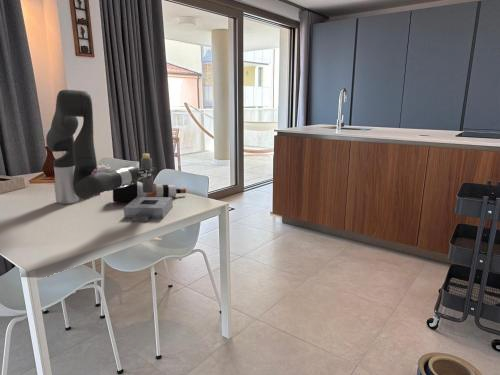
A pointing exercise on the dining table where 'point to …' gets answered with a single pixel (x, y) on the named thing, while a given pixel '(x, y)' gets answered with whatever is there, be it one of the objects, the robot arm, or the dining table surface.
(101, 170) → the lumpy-topped squat cylinder
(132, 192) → the banded tapered cylinder
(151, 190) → the grey bottle
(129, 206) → the housing
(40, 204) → the dining table surface
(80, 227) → the dining table surface
